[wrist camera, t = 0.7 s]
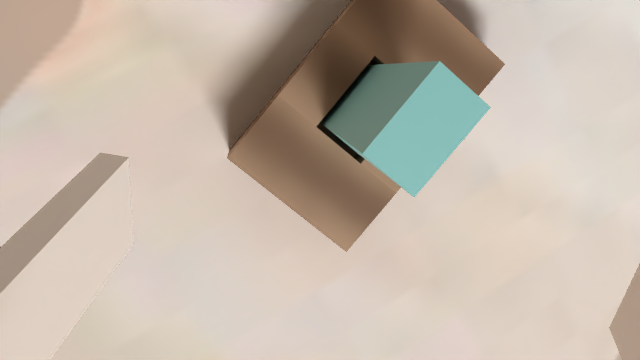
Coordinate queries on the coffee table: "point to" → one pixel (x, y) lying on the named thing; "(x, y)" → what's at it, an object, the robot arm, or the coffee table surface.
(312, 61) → the walnut box
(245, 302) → the coffee table surface
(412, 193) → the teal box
